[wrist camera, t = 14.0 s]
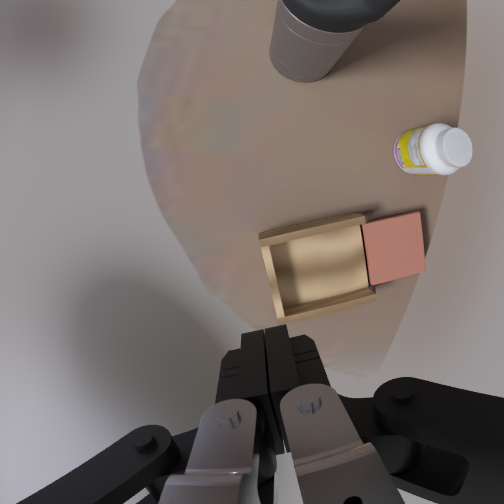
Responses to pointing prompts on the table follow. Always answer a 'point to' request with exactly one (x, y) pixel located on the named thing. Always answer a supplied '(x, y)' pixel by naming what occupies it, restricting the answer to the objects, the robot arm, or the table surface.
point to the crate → (317, 267)
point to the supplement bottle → (433, 150)
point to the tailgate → (394, 247)
